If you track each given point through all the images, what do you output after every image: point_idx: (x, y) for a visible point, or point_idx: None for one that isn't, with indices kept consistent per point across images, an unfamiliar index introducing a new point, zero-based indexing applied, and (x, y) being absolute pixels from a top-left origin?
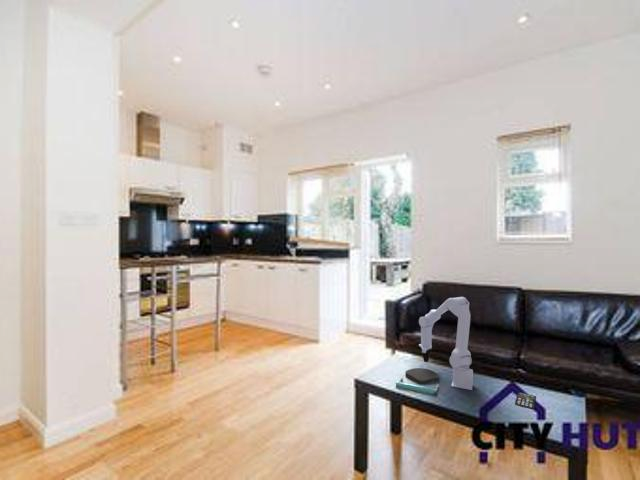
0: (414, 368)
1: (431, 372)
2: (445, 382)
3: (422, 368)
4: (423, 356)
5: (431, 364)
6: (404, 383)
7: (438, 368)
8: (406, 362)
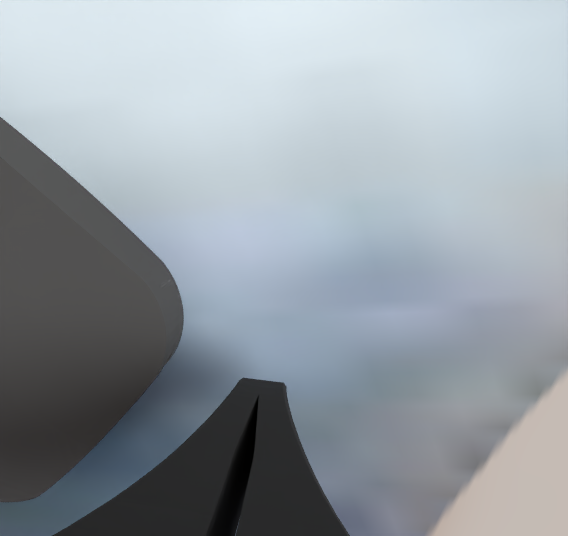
0: (49, 210)
1: (29, 438)
2: (7, 511)
3: (143, 321)
4: (181, 454)
5: (487, 396)
6: None
7: (363, 467)
8: (493, 13)
